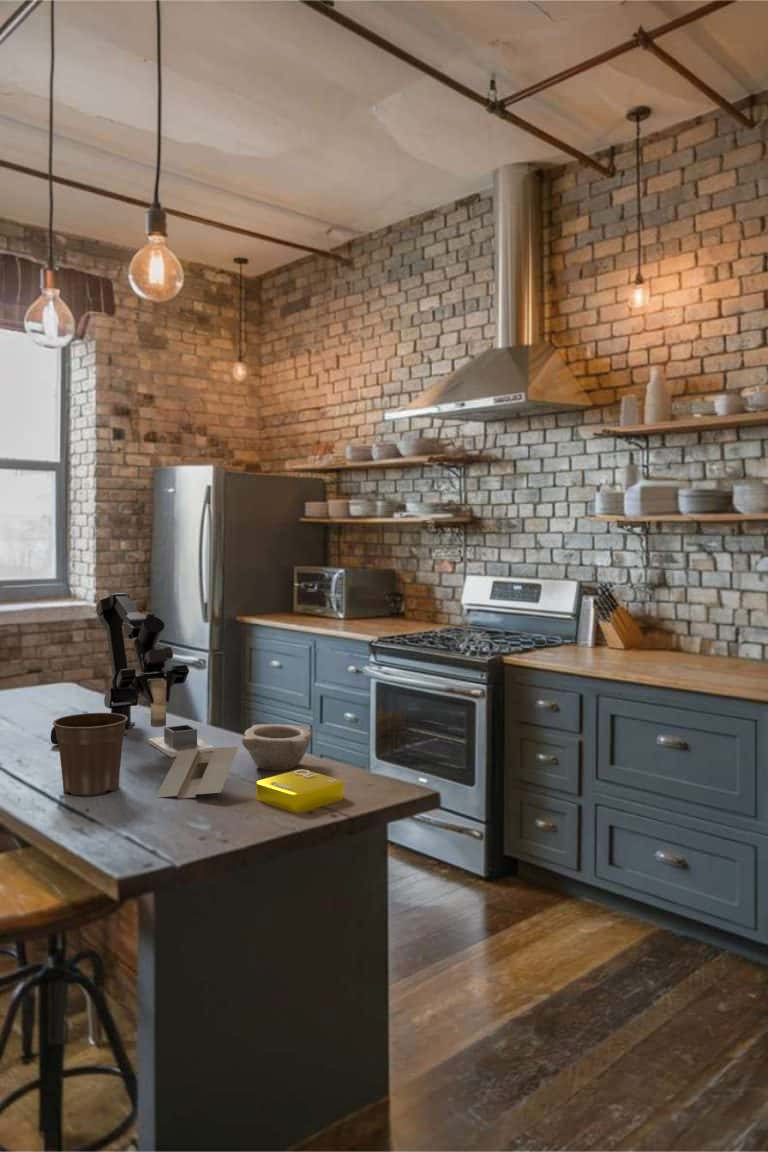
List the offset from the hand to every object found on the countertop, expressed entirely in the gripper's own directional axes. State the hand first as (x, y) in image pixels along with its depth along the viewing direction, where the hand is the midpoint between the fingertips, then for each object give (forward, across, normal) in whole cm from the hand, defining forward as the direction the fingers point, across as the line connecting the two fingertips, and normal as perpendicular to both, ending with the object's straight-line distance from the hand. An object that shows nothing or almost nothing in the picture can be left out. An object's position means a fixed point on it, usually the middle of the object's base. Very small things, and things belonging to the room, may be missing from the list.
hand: (160, 701), depth 231 cm
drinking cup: (-7, -23, +22) cm, 33 cm away
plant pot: (+27, -24, -8) cm, 37 cm away
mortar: (+30, +21, -11) cm, 38 cm away
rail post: (+4, 0, +6) cm, 7 cm away
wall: (+37, -4, -18) cm, 41 cm away
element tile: (+49, +14, -29) cm, 58 cm away
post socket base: (+8, +6, +10) cm, 15 cm away
